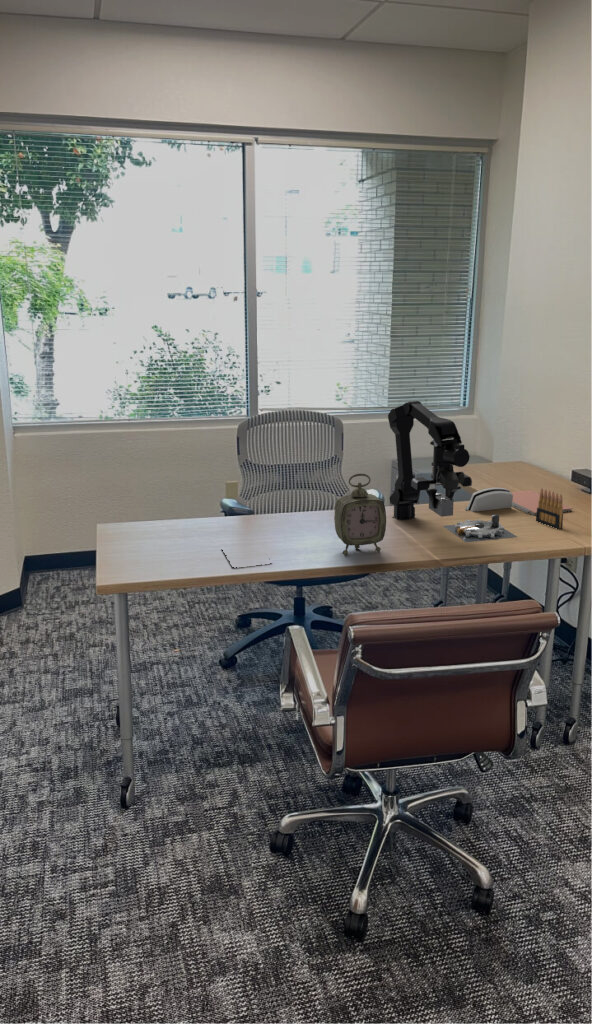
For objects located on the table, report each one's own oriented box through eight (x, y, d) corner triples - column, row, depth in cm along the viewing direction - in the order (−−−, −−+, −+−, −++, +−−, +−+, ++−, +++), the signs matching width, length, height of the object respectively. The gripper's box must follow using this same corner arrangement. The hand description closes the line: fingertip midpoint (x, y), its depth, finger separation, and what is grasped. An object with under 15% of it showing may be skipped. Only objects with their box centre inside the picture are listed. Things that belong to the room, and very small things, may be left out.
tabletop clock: (341, 558, 230) (340, 478, 223) (333, 548, 239) (332, 472, 232) (385, 553, 234) (386, 475, 226) (376, 544, 242) (376, 468, 235)
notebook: (492, 498, 292) (492, 493, 292) (530, 494, 297) (530, 489, 296) (531, 517, 267) (531, 512, 267) (572, 512, 272) (572, 507, 271)
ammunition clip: (562, 528, 253) (565, 494, 249) (558, 529, 252) (561, 495, 249) (539, 520, 262) (542, 487, 259) (535, 521, 261) (538, 487, 258)
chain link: (441, 516, 239) (441, 500, 237) (428, 508, 248) (429, 492, 246) (453, 515, 240) (453, 499, 238) (440, 507, 249) (440, 491, 247)
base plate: (466, 545, 239) (466, 542, 239) (442, 528, 256) (442, 525, 255) (517, 539, 243) (517, 536, 243) (490, 523, 260) (491, 521, 259)
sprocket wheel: (454, 537, 243) (455, 520, 242) (454, 522, 258) (455, 507, 256) (505, 539, 240) (506, 522, 238) (502, 524, 255) (503, 508, 253)
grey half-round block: (504, 505, 280) (510, 483, 275) (510, 513, 277) (517, 490, 271) (464, 510, 276) (469, 487, 270) (469, 517, 272) (475, 495, 266)
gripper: (424, 468, 229) (423, 517, 234) (481, 463, 233) (478, 512, 238) (411, 460, 240) (410, 507, 244) (465, 456, 244) (463, 502, 248)
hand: (440, 507), depth 243 cm, fingers closed on chain link, 4 cm apart
